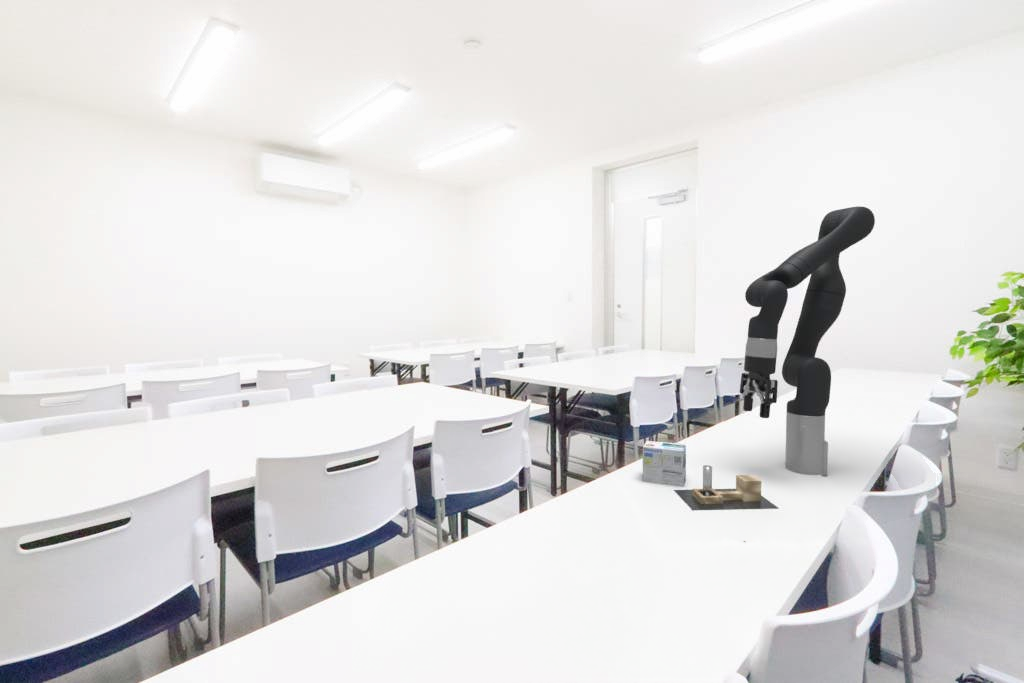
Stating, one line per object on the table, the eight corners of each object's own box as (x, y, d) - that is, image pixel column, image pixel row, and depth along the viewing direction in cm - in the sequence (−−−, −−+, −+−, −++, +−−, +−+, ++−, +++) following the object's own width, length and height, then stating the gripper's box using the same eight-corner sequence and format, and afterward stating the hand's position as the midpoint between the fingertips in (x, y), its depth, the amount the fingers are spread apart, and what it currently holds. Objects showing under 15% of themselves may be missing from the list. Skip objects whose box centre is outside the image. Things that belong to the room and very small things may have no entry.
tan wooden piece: (750, 493, 115) (750, 473, 114) (762, 502, 109) (762, 481, 109) (692, 494, 115) (692, 475, 114) (701, 503, 109) (701, 483, 109)
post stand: (751, 492, 118) (752, 457, 118) (779, 512, 106) (779, 474, 106) (673, 493, 118) (673, 459, 117) (692, 514, 106) (692, 476, 105)
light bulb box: (686, 482, 126) (686, 443, 125) (684, 491, 120) (684, 450, 119) (645, 477, 130) (646, 439, 130) (641, 485, 124) (642, 446, 123)
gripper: (790, 358, 118) (784, 421, 119) (760, 353, 132) (755, 409, 133) (761, 357, 118) (755, 419, 119) (734, 352, 132) (729, 408, 133)
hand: (755, 414), depth 126 cm, fingers open, 8 cm apart
